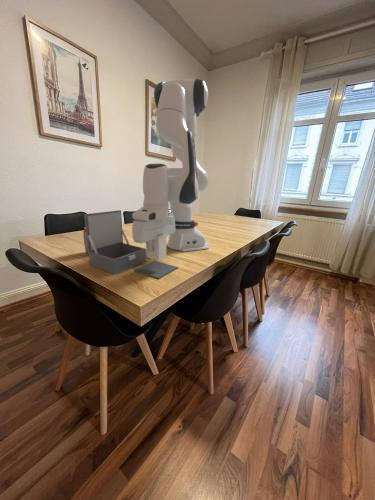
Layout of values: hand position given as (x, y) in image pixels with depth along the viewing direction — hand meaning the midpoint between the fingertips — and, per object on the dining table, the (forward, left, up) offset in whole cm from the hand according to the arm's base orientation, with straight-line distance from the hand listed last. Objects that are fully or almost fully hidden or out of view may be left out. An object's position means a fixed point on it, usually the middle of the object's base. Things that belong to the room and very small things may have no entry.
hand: (156, 249), depth 78 cm
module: (0, 0, -3) cm, 3 cm away
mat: (0, 0, -8) cm, 8 cm away
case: (+14, -9, -8) cm, 19 cm away
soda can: (+26, -23, -9) cm, 36 cm away
